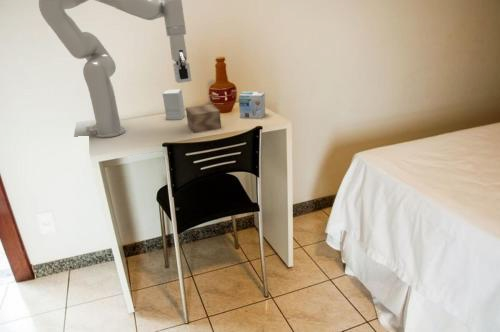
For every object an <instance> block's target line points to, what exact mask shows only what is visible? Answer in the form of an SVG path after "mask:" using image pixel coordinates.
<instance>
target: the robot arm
mask: <svg viewBox="0 0 500 332" xmlns="http://www.w3.org/2000/svg"><path fill="white" fill-rule="evenodd" d="M88 1H89V0H38V8H39V12H40V14H41V16H42V18H43V19H44V21H45V22H46V24H48V26H49V27H50V28H51V30H53V32H54V33H55V36H56V37H57V38H58V39H59V40H60V42H61V43H62V44H63V45H64V47H65V48H66V50H67V52H69V53H70V54H71V56H72V57H73V58H76V59H77V60H78V59H79V60H80V59H81V60H83V59H86V62H85V64H84V65H83V69H82V73H83V77H84V80H85V83H86V86H87V90H88V93H89V96H90V101H91V105H92V111H93V114H94V119H95V124H94V125H92V126H91V125H89V126H85V130H86V132H89V133H92V132H94V136H95V137H96V138H102V139H104V138H113V137H117V136H120V135H123V134H124V133H125V132H126V128H125V126H122V125H121V121H120V120H121V119H120V115H119V111H118V105H117V101H116V95H115V90H114V86H113V83H112V82H111V77H112V76H113V75H114V74H115V72H116V67H117V66H116V63H115V60H114V59H113V57H112V55H110V53H109V51H108V50H107V49H106V48H105V45H103V43H102V42H101V40H100V39H98V37H97V36H96V35H94V34H93V33H91V32H89V31H82V30H81V29H80V27H78V25H77V24H76V22H75V21H74V19H73V18H72V17H70V16H69V15H68V14H67V13H66V10H70V9H74V8H75V7H76V8H77V7H78V6H81V5H82V4H84V3H86V2H88ZM95 1H96V2H98V3H101V4H104V5H107V6H110V7H113V8H115V9H116V10H120V11H121V12H125V13H126V14H129V15H131V16H134V17H138V18H141V19H143V20H146V21H154V20H157V19H161V18H164V24H165V25H164V26H165V31H166V37H169V46H170V52H171V60H173V62H174V63H178V64H179V74H180V79H188V72H187V67H186V62H187V60H188V55H187V46H186V41H185V35H187V30H186V21H185V16H184V15H185V14H184V8H183V1H182V0H95ZM180 63H181V64H180Z"/></svg>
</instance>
